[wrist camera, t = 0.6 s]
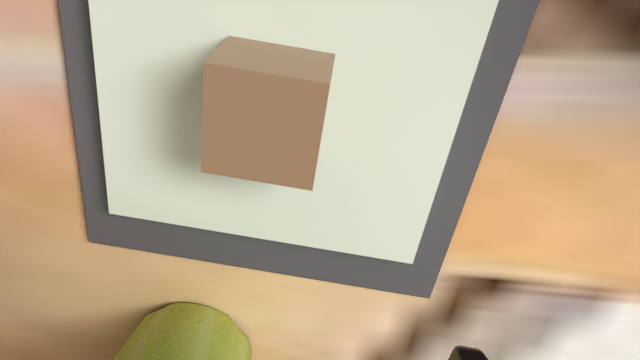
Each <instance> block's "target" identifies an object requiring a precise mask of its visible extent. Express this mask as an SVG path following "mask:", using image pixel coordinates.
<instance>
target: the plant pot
mask: <svg viewBox="0 0 640 360" xmlns="http://www.w3.org/2000/svg"><path fill="white" fill-rule="evenodd" d="M113 360H251V344H250V341H249V339H248V337H247V336H246V335H244V334H243V333H242V332H241V331H240V330H239V329H238V328H237V327H236V325H235V324H234V323H233V321H232V319H231V318H230V317H229V316H227V315H226V314H224V313H222V312H220V311H218V310H216V309H213V308H210V307H208V306H203V305H199V304H192V303H174V304H170V305H167V306H165V307H164V308H162V309H160V310H158V311H155V312H153V313H150V314H147V315H146V316H145V317H144V318H143V320H142V321H141V322H140V324H139V325H138V326H137V328H136V329H135V330H134V332H133V333H132V334H131V336H130V337H129V338H128V340H127V341H126V343H125V344H124V345H123V347H122V348H121V349H120V351H119V352H118V354H117V355H116V356H115V358H114V359H113Z"/></svg>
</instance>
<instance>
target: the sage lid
mask: <svg viewBox="0 0 640 360" xmlns="http://www.w3.org/2000/svg"><path fill="white" fill-rule="evenodd" d="M498 1H499V0H88V2H89V13H90V23H91V33H92V43H93V54H94V64H95V74H96V85H97V95H98V105H99V116H100V126H101V136H102V146H103V157H104V167H105V177H106V188H107V198H108V208H109V214H115V215H121V216H127V217H133V218H139V219H145V220H151V221H157V222H163V223H169V224H175V225H181V226H187V227H193V228H199V229H205V230H211V231H217V232H223V233H229V234H235V235H241V236H247V237H253V238H259V239H265V240H271V241H277V242H283V243H289V244H295V245H301V246H307V247H313V248H319V249H325V250H331V251H337V252H343V253H349V254H355V255H361V256H367V257H373V258H379V259H385V260H391V261H397V262H403V263H409V264H413V261H414V258H415V255H416V252H417V249H418V246H419V243H420V240H421V237H422V234H423V231H424V227H425V224H426V221H427V218H428V215H429V212H430V209H431V206H432V203H433V200H434V197H435V194H436V191H437V188H438V185H439V182H440V179H441V176H442V172H443V169H444V166H445V163H446V160H447V157H448V154H449V151H450V148H451V145H452V142H453V139H454V136H455V133H456V130H457V127H458V124H459V121H460V118H461V114H462V111H463V108H464V105H465V102H466V99H467V96H468V93H469V90H470V87H471V84H472V81H473V78H474V75H475V72H476V69H477V66H478V63H479V59H480V56H481V53H482V50H483V47H484V44H485V41H486V38H487V35H488V32H489V29H490V26H491V23H492V20H493V17H494V14H495V11H496V8H497V5H498Z"/></svg>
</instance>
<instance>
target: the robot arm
mask: <svg viewBox="0 0 640 360" xmlns="http://www.w3.org/2000/svg"><path fill="white" fill-rule="evenodd" d="M448 360H488V358H487V357H486V356H485V354H484V353H483V352H482V351H481V350H479V349H476V348H471V347H465V346H456V347H455V348H454V349H453V351H452V353H451V355H450V357H449V359H448Z"/></svg>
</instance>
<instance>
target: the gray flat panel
mask: <svg viewBox="0 0 640 360" xmlns="http://www.w3.org/2000/svg"><path fill="white" fill-rule="evenodd" d="M539 1H540V0H499V1H498V5H497V8H496V11H495V14H494V17H493V20H492V23H491V26H490V29H489V32H488V35H487V38H486V41H485V44H484V47H483V50H482V53H481V56H480V59H479V63H478V66H477V69H476V72H475V75H474V78H473V81H472V84H471V87H470V90H469V93H468V96H467V99H466V102H465V105H464V108H463V111H462V114H461V118H460V121H459V124H458V127H457V130H456V133H455V136H454V139H453V142H452V145H451V148H450V151H449V154H448V157H447V160H446V163H445V166H444V169H443V172H442V176H441V179H440V182H439V185H438V188H437V191H436V194H435V197H434V200H433V203H432V206H431V209H430V212H429V215H428V218H427V221H426V224H425V227H424V231H423V234H422V237H421V240H420V243H419V246H418V249H417V252H416V255H415V258H414V261H413V264H409V263H403V262H397V261H391V260H385V259H379V258H373V257H367V256H361V255H355V254H349V253H343V252H337V251H331V250H325V249H319V248H313V247H307V246H301V245H295V244H289V243H283V242H277V241H271V240H265V239H259V238H253V237H247V236H241V235H235V234H229V233H223V232H217V231H211V230H205V229H199V228H193V227H187V226H181V225H175V224H169V223H163V222H157V221H151V220H145V219H139V218H133V217H127V216H121V215H115V214H109V208H108V198H107V188H106V177H105V167H104V157H103V146H102V136H101V126H100V116H99V105H98V95H97V85H96V74H95V64H94V54H93V43H92V33H91V23H90V13H89V2H88V0H58V5H59V13H60V21H61V29H62V36H63V44H64V52H65V60H66V68H67V75H68V83H69V91H70V99H71V106H72V114H73V122H74V130H75V137H76V145H77V153H78V161H79V169H80V176H81V184H82V192H83V200H84V207H85V215H86V223H87V231H88V239H89V242H92V243H98V244H104V245H110V246H117V247H123V248H129V249H135V250H141V251H147V252H153V253H159V254H165V255H171V256H177V257H183V258H189V259H195V260H201V261H207V262H213V263H219V264H225V265H231V266H237V267H243V268H249V269H255V270H261V271H267V272H273V273H279V274H285V275H291V276H297V277H303V278H309V279H315V280H321V281H327V282H333V283H339V284H345V285H351V286H357V287H363V288H369V289H375V290H381V291H387V292H393V293H399V294H405V295H411V296H417V297H423V298H430V296H431V293H432V290H433V288H434V285H435V282H436V279H437V277H438V274H439V271H440V269H441V266H442V263H443V260H444V258H445V255H446V252H447V250H448V247H449V244H450V242H451V239H452V236H453V233H454V231H455V228H456V225H457V223H458V220H459V217H460V214H461V212H462V209H463V206H464V204H465V201H466V198H467V196H468V193H469V190H470V187H471V185H472V182H473V179H474V177H475V174H476V171H477V168H478V166H479V163H480V160H481V158H482V155H483V152H484V150H485V147H486V144H487V141H488V139H489V136H490V133H491V131H492V128H493V125H494V122H495V120H496V117H497V114H498V112H499V109H500V106H501V104H502V101H503V98H504V95H505V93H506V90H507V87H508V85H509V82H510V79H511V76H512V74H513V71H514V68H515V66H516V63H517V60H518V58H519V55H520V52H521V49H522V47H523V44H524V41H525V39H526V36H527V33H528V30H529V28H530V25H531V22H532V20H533V17H534V14H535V12H536V9H537V6H538V3H539Z"/></svg>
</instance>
